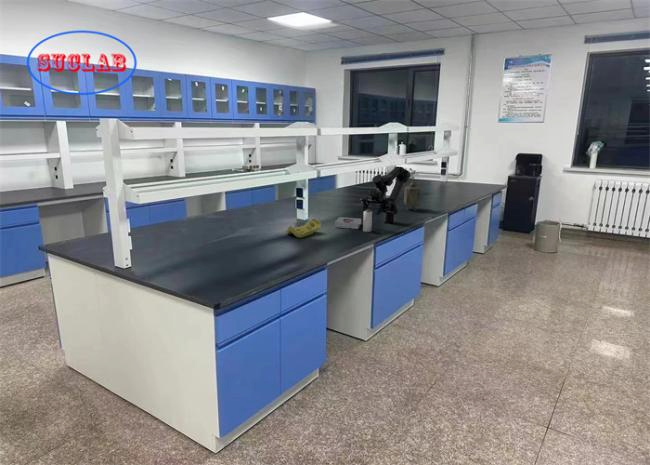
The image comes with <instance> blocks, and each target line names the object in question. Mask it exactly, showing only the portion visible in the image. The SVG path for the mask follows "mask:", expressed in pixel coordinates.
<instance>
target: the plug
mask: <svg viewBox="0 0 650 465" xmlns="http://www.w3.org/2000/svg"><path fill="white" fill-rule="evenodd" d="M372 227H373V211H372V210H371V209H367V210H365V211H364V213H363V223H362V232H366V233H370V232H372Z"/></svg>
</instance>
